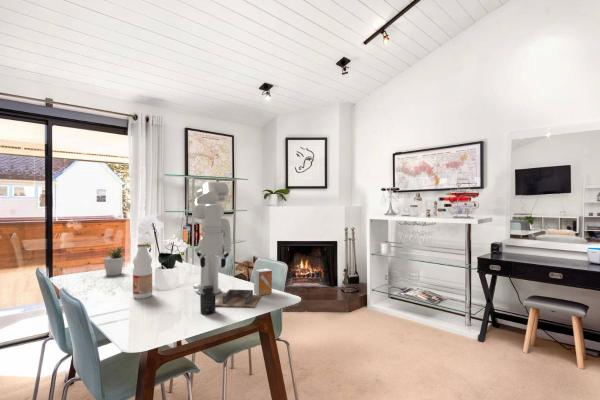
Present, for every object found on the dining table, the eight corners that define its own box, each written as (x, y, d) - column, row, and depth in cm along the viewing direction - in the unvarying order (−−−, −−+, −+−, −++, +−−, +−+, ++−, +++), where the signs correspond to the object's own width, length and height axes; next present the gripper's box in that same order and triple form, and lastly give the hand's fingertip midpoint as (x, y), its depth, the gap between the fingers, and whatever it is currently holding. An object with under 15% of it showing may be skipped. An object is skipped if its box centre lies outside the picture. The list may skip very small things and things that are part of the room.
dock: (213, 306, 166) (213, 297, 166) (224, 295, 184) (224, 287, 184) (254, 307, 165) (254, 298, 165) (260, 296, 183) (260, 288, 183)
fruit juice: (147, 299, 178) (147, 245, 178) (129, 298, 178) (129, 245, 178) (155, 293, 188) (155, 242, 187) (138, 293, 188) (138, 242, 187)
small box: (258, 296, 184) (258, 272, 184) (253, 293, 189) (253, 269, 189) (272, 293, 189) (272, 270, 188) (266, 291, 194) (266, 268, 194)
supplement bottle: (201, 310, 162) (201, 284, 161) (216, 309, 162) (216, 284, 162) (198, 315, 155) (198, 288, 154) (214, 314, 155) (214, 288, 155)
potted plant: (119, 276, 227) (119, 246, 226) (99, 276, 227) (99, 246, 226) (129, 272, 239) (129, 243, 239) (109, 272, 239) (109, 243, 239)
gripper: (191, 230, 158) (191, 268, 158) (228, 231, 156) (228, 268, 156) (198, 229, 165) (198, 265, 165) (233, 229, 163) (233, 265, 163)
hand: (213, 267), depth 160 cm, fingers open, 9 cm apart
